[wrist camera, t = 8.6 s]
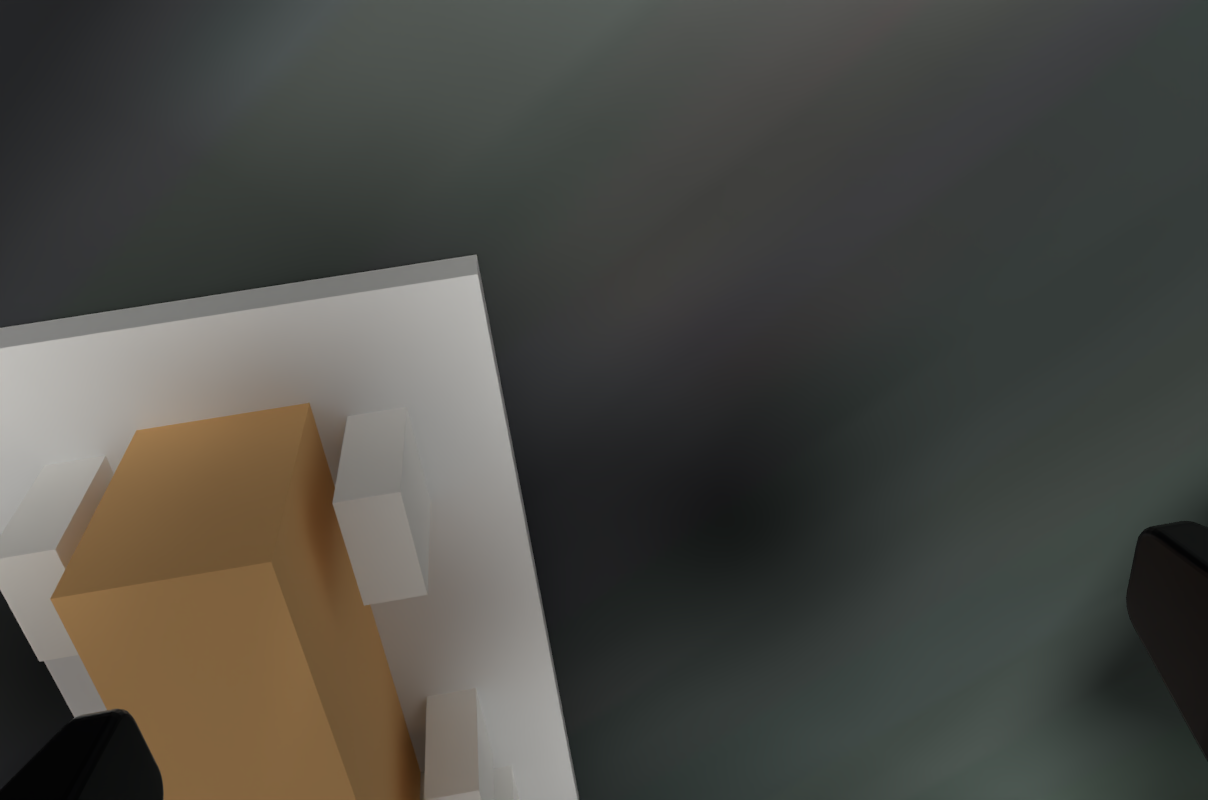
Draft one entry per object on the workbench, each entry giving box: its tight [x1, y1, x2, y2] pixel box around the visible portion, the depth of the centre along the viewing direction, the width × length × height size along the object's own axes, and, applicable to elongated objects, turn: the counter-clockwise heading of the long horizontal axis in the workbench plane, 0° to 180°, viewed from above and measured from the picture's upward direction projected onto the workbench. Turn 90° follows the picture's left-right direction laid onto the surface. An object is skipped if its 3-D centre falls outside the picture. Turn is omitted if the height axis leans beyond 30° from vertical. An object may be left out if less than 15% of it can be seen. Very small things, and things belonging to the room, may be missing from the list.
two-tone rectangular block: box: [50, 403, 425, 800], centre depth 22 cm, size 4×16×5 cm, turn 6°
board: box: [0, 255, 579, 800], centre depth 23 cm, size 11×20×4 cm, turn 6°
